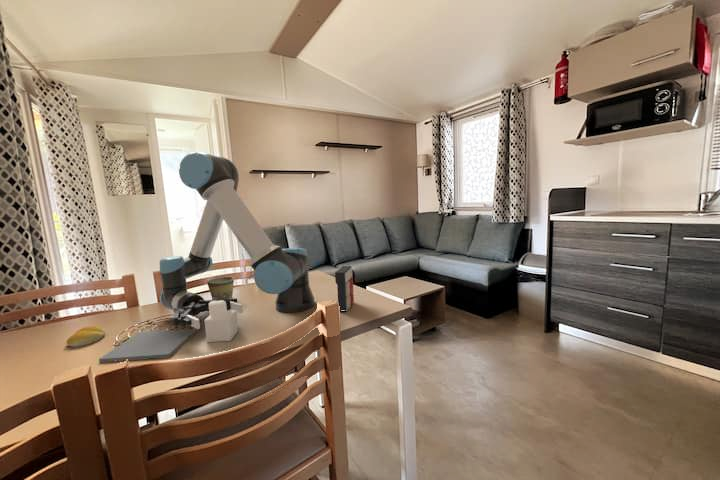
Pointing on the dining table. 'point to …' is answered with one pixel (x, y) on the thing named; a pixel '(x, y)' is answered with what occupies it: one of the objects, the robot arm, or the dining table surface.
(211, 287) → the ceramic cup
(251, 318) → the dining table surface
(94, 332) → the yellow seashell
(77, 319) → the dining table surface
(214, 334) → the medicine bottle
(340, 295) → the dark grey box
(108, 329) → the dining table surface
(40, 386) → the dining table surface
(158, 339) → the mat
